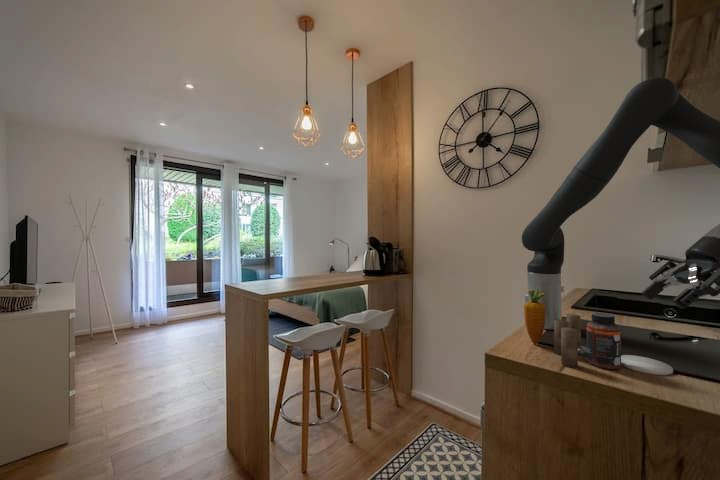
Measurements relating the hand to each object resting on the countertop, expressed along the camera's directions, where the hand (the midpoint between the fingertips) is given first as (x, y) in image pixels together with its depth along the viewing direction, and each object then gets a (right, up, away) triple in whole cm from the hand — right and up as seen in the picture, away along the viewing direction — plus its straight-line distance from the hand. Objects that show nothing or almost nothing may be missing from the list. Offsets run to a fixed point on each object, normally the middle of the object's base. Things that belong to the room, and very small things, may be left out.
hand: (660, 300), depth 64 cm
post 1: (-16, -15, +9) cm, 23 cm away
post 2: (-9, -15, +14) cm, 22 cm away
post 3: (-18, -15, +2) cm, 24 cm away
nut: (-10, -15, +9) cm, 20 cm away
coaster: (-3, -15, +1) cm, 15 cm away
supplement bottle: (-11, -15, +2) cm, 18 cm away
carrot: (-18, -15, +15) cm, 28 cm away
